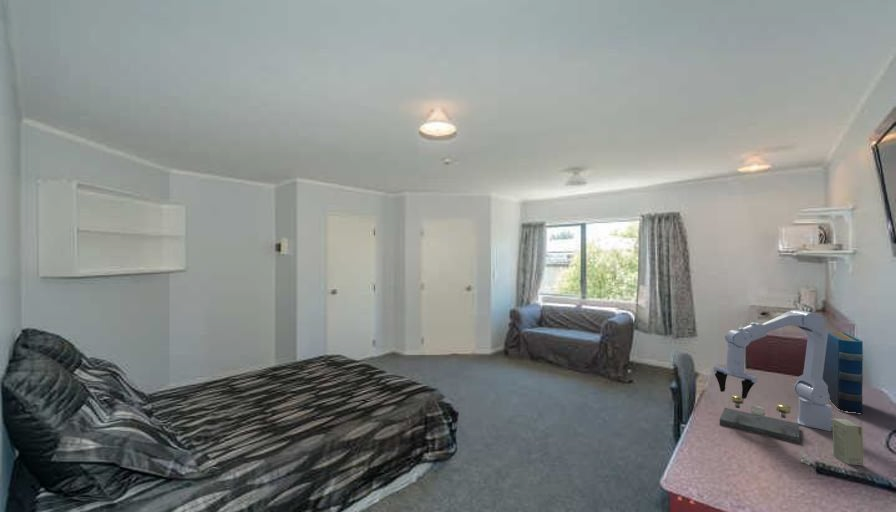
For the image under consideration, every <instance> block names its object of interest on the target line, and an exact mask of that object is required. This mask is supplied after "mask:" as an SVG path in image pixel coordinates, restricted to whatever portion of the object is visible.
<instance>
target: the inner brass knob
mask: <svg viewBox="0 0 896 512" xmlns="http://www.w3.org/2000/svg"><path fill="white" fill-rule="evenodd" d="M775 408H776V409H775V410H776V411H777V412H779V413H780V418H782V419H786V418H787V414H791V406H789V405H786V404H783V403H777V404H776V407H775Z"/></svg>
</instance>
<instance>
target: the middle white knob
mask: <svg viewBox="0 0 896 512" xmlns="http://www.w3.org/2000/svg"><path fill="white" fill-rule="evenodd" d="M750 413H752V414H755V419H756V420H761V416H765V414H766V411H765V408H764V407H762V406H757V405H751V406H750Z"/></svg>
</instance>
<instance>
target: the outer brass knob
mask: <svg viewBox="0 0 896 512" xmlns="http://www.w3.org/2000/svg"><path fill="white" fill-rule="evenodd" d="M730 399H731V400H730V402H732V403H734V408H735V409H740V408H741V405H743V404H744V400H745V399H743V398H742V395H737V394H736V395H735V394H732V395H731V397H730Z"/></svg>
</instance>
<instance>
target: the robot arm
mask: <svg viewBox="0 0 896 512" xmlns="http://www.w3.org/2000/svg"><path fill="white" fill-rule="evenodd" d="M825 323H826V319H825V318H824V317H823V316H821V314H819V313H817V312H811V311H805V310H801V309H792V310H789V311H786V312H785V313H784V314H781V315H779V316H777V317H774V318H772V319H770V320H768V321H766V322H764V323H760V322H754V321H753V322H750V323H749V325H746V326H744V327H738V328H737V330H736V329H731V330H729V331H728V332H727V333H726V335H724V338H725V341H726V343H727V353H726V365H725V367H726V368H725V367H721V366H716V365H715V366H713V372H716V373H714V376H715V379H716V380H717V383H718V387H719V390H720V392H721V393H723V392H725V391H726V385H727V384H726V382H727V378H728V376H730V377H734V378H737V379H741V396H742V398H743V399H744V400H745V399H747V397H748V395H749V392H750V390H751V388H752V387H753V386H754V384H755V383H758V377H757V376H755V375H754V376H753V375H751V374H748V373H745V361H746V349H747V346H749V345H750V343H751V342H753V341H757V340H759V339H762V338H764V337H766V336H767V335H768V332H771V331H775V330H777V329H780V328H784V327H788V326H793V327H794V326H795V327H796V328H799V329H800V330H802V331H803V332H804V333H805V334H806V335H807V341H806V350H805V357H804V364H803V365H804V366H803V372H802V374H801V375H799V376H798V377H797V381H796V383H795V384H794V386H793V390H794V392H795V393H796V395H797V398H798V416H797V418H796V419H797V422H796V423H798V424H799V426H804V427H808V428H814V429H818V430H823V431H827V432H833V418H832V414H833V413H832V404H827V403H828V402H829V397H830V396H829V393H828V386H827V384H826V383H825V382H824V380H823V370H824V362H825V354H826V346H827V338H828V332H829V331H828V330H827V327H826V324H825Z"/></svg>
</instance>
